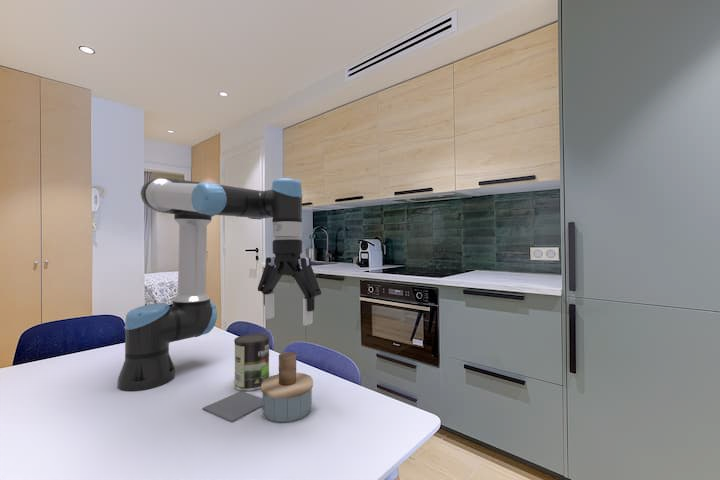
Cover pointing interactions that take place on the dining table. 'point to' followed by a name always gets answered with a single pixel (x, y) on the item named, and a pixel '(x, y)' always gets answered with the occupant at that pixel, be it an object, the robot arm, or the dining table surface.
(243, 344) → the coffee can
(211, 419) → the dining table surface
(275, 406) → the bowl
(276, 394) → the lid
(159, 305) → the robot arm
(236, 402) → the mat
